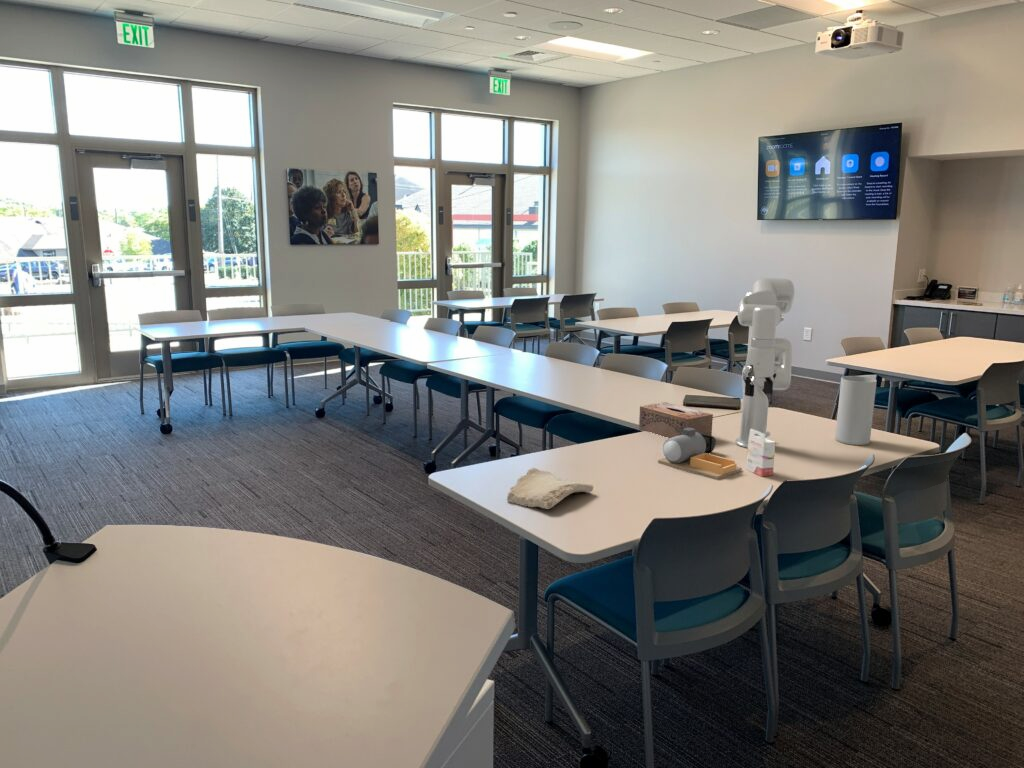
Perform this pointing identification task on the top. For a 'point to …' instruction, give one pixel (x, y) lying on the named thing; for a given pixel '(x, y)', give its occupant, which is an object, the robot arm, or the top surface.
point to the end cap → (709, 443)
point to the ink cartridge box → (760, 454)
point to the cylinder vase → (855, 410)
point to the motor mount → (695, 456)
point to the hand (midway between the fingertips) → (758, 394)
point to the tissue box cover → (673, 419)
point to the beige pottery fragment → (543, 489)
